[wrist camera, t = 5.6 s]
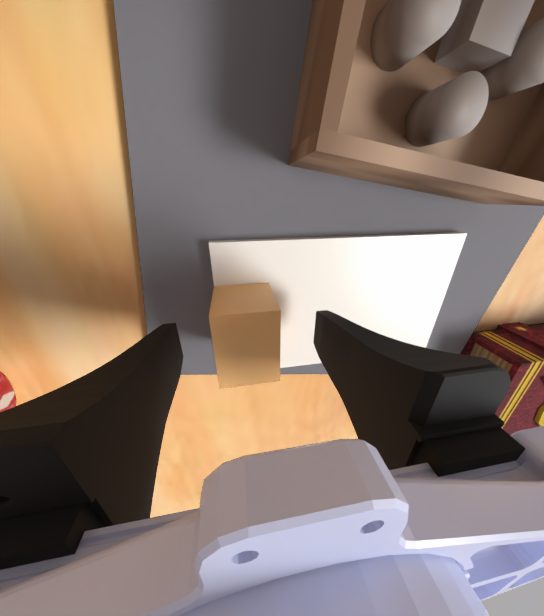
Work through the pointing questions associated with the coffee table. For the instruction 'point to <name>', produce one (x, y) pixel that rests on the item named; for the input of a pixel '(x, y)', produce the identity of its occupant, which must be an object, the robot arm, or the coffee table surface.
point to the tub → (426, 96)
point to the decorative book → (516, 371)
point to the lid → (321, 295)
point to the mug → (6, 394)
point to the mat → (262, 168)
